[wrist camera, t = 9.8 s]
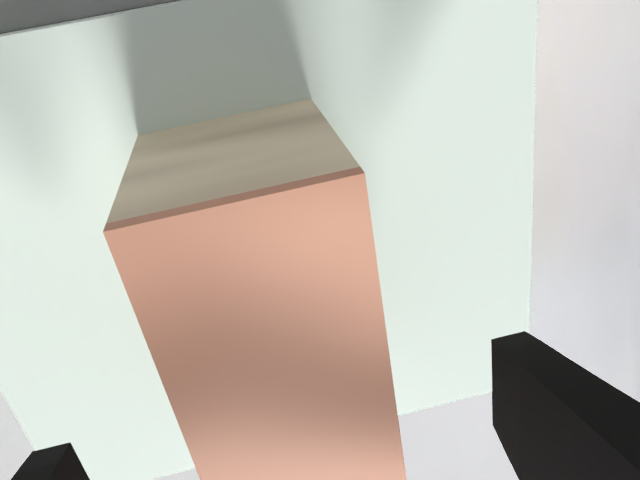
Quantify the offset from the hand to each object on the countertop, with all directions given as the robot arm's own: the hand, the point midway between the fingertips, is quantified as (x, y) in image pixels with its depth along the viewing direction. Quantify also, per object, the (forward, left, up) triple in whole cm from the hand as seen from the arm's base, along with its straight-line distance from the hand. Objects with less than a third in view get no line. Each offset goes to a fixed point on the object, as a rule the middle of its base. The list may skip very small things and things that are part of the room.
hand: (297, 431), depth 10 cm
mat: (0, 0, -7) cm, 7 cm away
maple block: (0, 0, -6) cm, 6 cm away
